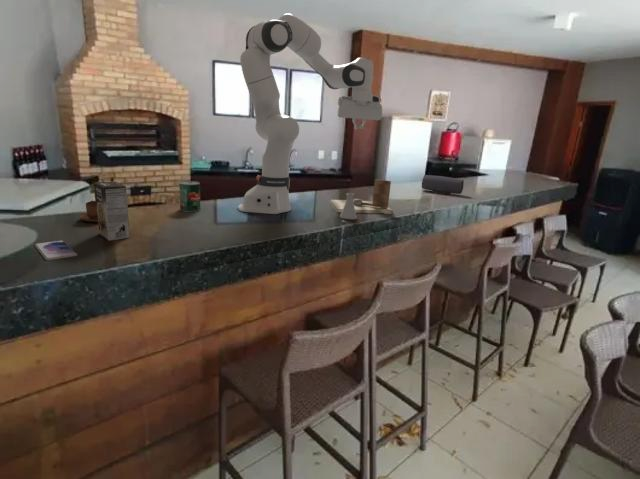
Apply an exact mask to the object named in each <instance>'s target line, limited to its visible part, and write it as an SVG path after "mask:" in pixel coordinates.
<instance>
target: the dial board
mask: <svg viewBox="0 0 640 479" xmlns="http://www.w3.org/2000/svg"><path fill="white" fill-rule="evenodd" d="M353 201H354V199H353ZM329 202H330V204H331V206H332V207H333V209H334V210H335V212H336V213H341V212H342V210H343V208H344V206H345V203H346V199H330V201H329ZM362 202H365V203H373V200H362ZM354 208H355V212H356V214H379V213H384V214H383V215H394V210H393V209H392V208H390V207H389V206H388V208H382V207H375V206H367V205H354Z"/></svg>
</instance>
